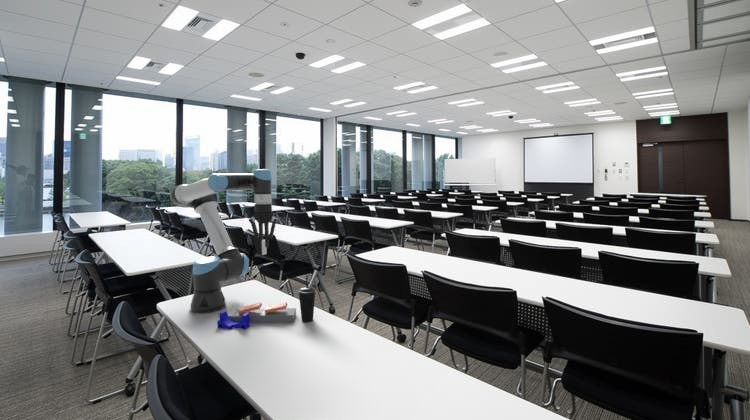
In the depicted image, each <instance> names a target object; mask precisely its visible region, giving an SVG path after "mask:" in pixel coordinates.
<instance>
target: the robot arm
mask: <svg viewBox="0 0 750 420" xmlns="http://www.w3.org/2000/svg"><path fill="white" fill-rule="evenodd" d="M243 190H244V191H245V190H246V191H247V190H249V191H251V190H253V196H254V197H253V199H254V203H255V204H254V214H253V216H252V217H251V218H249V219H248V222H249V224H250V225H251V228H252V231H253V235H254V239H255V240H258V241H259V248H261V255H262V256H264V255H267V253H268V252H267V250H268V249H267V248H269V242H270V241H269V240H272V239H273V236H274V232H275V230H276V229H275V228H276V225H277V222H278V221H279V219H278V217H275V216H274V215H273V209H272V208H273V207H272V202H273V201H272V200H273V198H272V173H271V170H270V169H267V168H262V169H259V168H258V169H256V168H255V169H253V172H252V173H248V172H247V173H246V172H244V173H243V172H242V173H239V172H237V173H235V172H234V173H225V172H224V173H222V172H217V173H212V174H210V175H209V177H208V178H203V179H201V180H198V181H196V182H192V183H189V184H186V183H183V184H178V185H175V186H174V187H173V188H172V189H171V190H170V192H169V199H170V201H171V202H172V204H174V205H175V206H177V207H179V208H193V210H194V212H195V213H196V214H199V216H200V218H201V221H202V224H203V225H204V228H205V230H206V232H207V235H208V237H209V239H210V241H211V244H212V246H213V249H214V251H215V253H216V255H211V256H204V257H201V258H199V259H197V260H195V261H194V263H193V264H192V276H193V281H192V282H193V296H192V299H191V303H190V305H189V307H190V311H191V312H192V313H197V314H207V313H212V312H216V311H219V310H223V308H225V307H226V302H227V301H226V298H225V295H224V293H223V290H222V283H224V282H227V281H231V280H234V279H239V278H241V277H244V276H245V275H246V274H247V272H248V270H249V267H250V266H249V265H250V261H249V257H248V256H247V254H245V253H243V252H240V250H239V248H237V247H234V245H233V243H232V240H231V238H230V236H229V234H228V233H229V232H228V231H227V229H226V226H225V224H224V222H223V220H222V218H221V215H220V213H219V211H218V206H219V204H218V203H219V201H220V197H219V196H220V194H219V193H222V192H226V191H243ZM271 221H272V223H271V228H270V230H269V225H270V224H269V223H270V222H271ZM256 222H257V224H258V227H257V225H256ZM263 226H264V227H263ZM257 228H258V229H257Z"/></svg>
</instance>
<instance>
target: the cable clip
mask: <svg viewBox="0 0 750 420" xmlns="http://www.w3.org/2000/svg"><path fill="white" fill-rule="evenodd" d="M218 315H219V316H218V317H219V320H217V322H216V323H217V329H223V330H232V329H240V330H247V329H248V328H249V327H250V326H251V323H250V317H249V313H245V314H243V315H242V319H241V321H240V322H235V321H233V320H231V319H230V318H229V316H230V315H228V310H222V311H220V312H219V314H218Z"/></svg>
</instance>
